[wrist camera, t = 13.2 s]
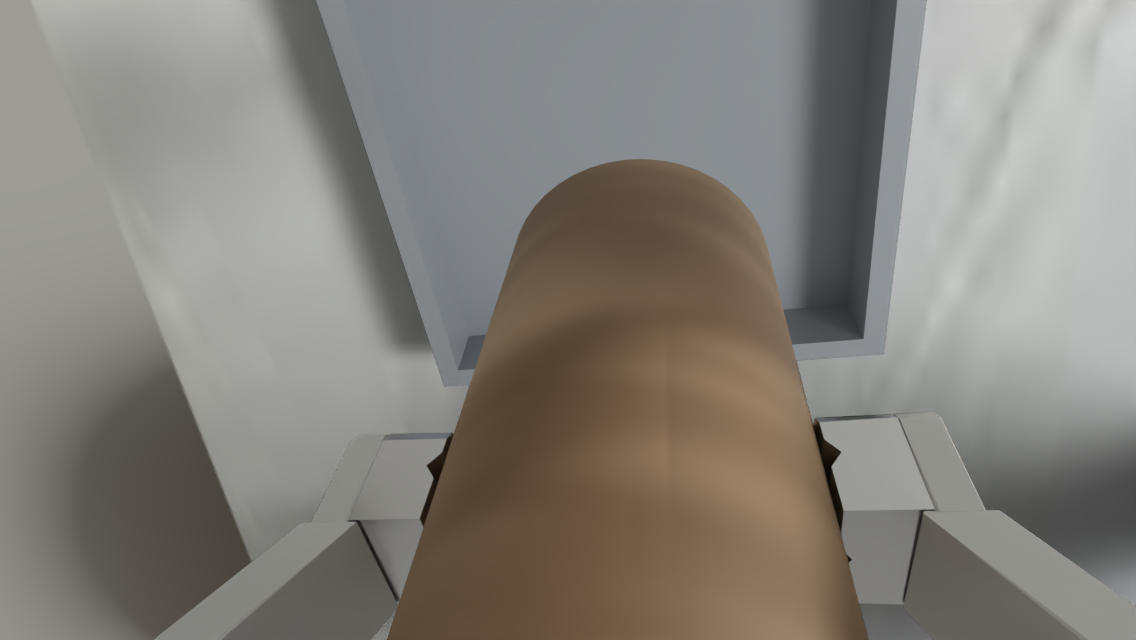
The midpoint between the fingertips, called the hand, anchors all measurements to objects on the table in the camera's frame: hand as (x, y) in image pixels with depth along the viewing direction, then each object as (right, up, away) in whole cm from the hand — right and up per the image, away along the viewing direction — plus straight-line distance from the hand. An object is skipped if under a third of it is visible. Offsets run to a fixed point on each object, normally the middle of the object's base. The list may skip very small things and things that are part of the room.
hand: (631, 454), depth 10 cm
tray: (+2, +11, +22) cm, 25 cm away
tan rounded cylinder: (+1, +3, +4) cm, 5 cm away
